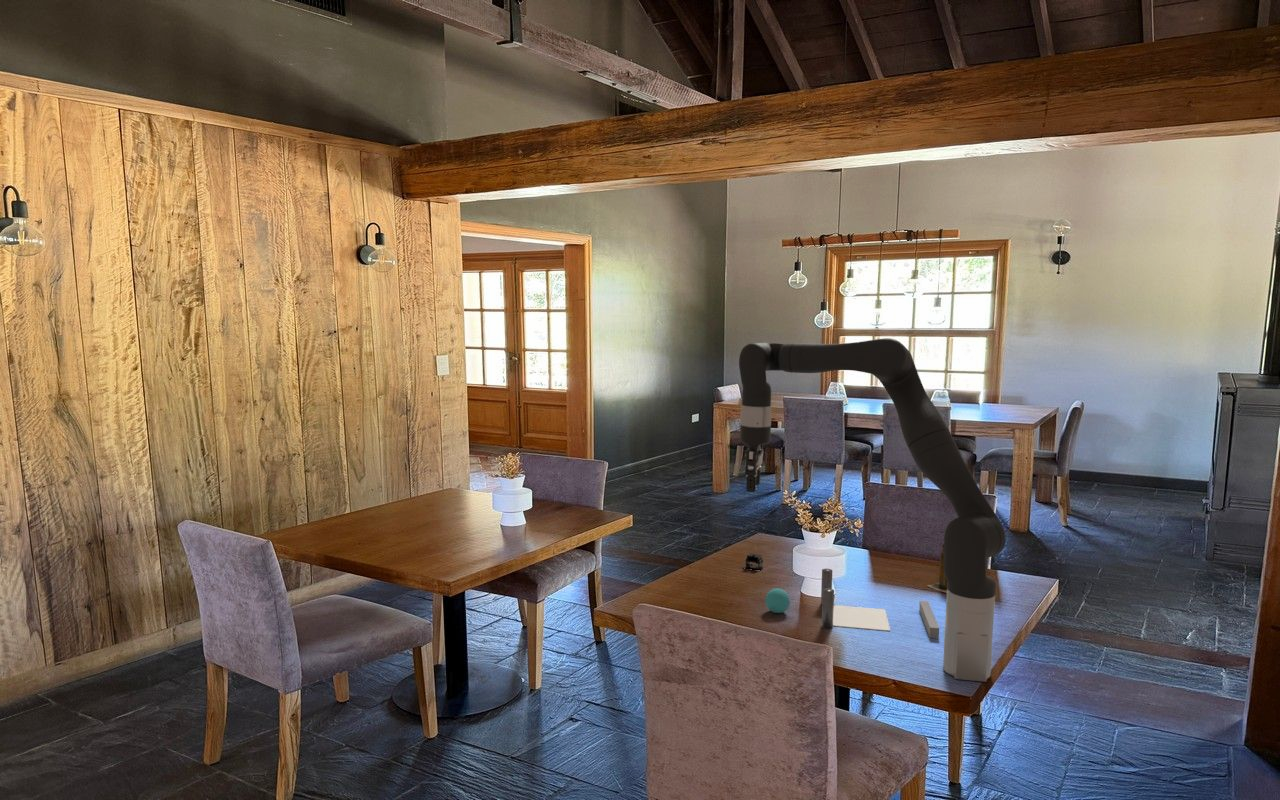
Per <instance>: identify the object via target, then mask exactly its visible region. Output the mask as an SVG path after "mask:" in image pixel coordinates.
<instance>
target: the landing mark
mask: <svg viewBox="0 0 1280 800" xmlns="http://www.w3.org/2000/svg"><path fill="white" fill-rule="evenodd" d="M833 627H841V628H848V629H849V628H851V629H861V630H872V631H874V630H875V631H885V632H891V627H890V624H889V620H888V615H887V612H886V609H884V608H872V607H860V606H859V607H858V606H848V605H836V604H834V610H833Z"/></svg>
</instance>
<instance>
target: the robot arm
mask: <svg viewBox="0 0 1280 800" xmlns="http://www.w3.org/2000/svg"><path fill="white" fill-rule="evenodd" d="M738 367H739V375H740V380H741V385H742V393H741V394H742V395H741V410H740V419H739V420H740V422H739V423H740V424H739V442H740V443H743V444H745V445H746V444H748V448H747V449H746V450H745V463H744V466H745V467H744V468H745V470H744V474H745V477H746V491H747V492H749V493H754V492H756V490H757V487H756V486H758V485H760V483H761V471H762V467H763V461H764V459H763V458H764V449H763V447H764V445H768V444H770V443H771V433H772V432H771V430H772V429H771V428H772V427H771V426H772V409H771V408H772V407H771V406H772V387H771V384H770V383H769V382H767V371H768V372H770V371H779V372H780V371H783V372H786V373H792V374H795V373H797V374H819V373H827V372H834V371H853V372H854V371H855V372H860V373H867V374H870V375H873V376H874V377H875V378H876V379H878V380H879V382H880V384H881V385H882V386H883V388H884V389H885V391H886V392H887V394H888V396H889V399H891V401H892V403H893V405H894V407H895V410H896V412H897V413H896V414H897V416H898V421H899V425H900V428H901V432H902V435H903V439H904V441H905V443H906V446H907V448H908V450H909V452H910V454H911V457H912V459H913V460H914V463H915V464H916V466H917V467H918V469H919V471H921V473H922V474H923V475H924V476H925V477H926V478H927V479H928V480H929V481H930V483H932V484H934V486H935V487H937V488H938V489H939V490H940V492H942V493H943V494H944V495H945V496H946V497H947V499H948V501H949V502H950V503H951V506H952V507H953V509H954V511H955V513H956V515H957V517H956V518H954V519H951V520H950V522H948V524H947V526H946V528H945V532H944V537H943V544H944V574H945V577H946V580H947V593H946V601H945V618H944V619H945V620H944V623H945V624H944V637H943V638H944V639H943V660H942V661H943V662H942V669H943V670H944V671H945V673H947V674H948V675H950V676H952V677H953V679H954V680H955V679H956V680H962V681H964V680H965V681H972V682H973V681H974V682H984V683H986V682H988V679H989V678H990V677H991V670H992V656H993V655H992V654H993V653H992V651H993V639H994V637H993V636H994V621H995V617H994V616H995V604H996V602H995V601H996V586H997V585H996V581H995V580H994V579H993V578H992V577H990V576H988V575H987V571H986V569H987V567H986V565H987V562H986V559H989V558H991V557H996V556H997V555H999V554H1001V553H1002V552H1003V551H1004V549H1005V546H1006V543H1007V541H1006V540H1007V536H1006V531H1005V529H1004V527H1003V524H1002V522H1001V521H1000V518H999V517H998V515H997V514H996V512H995V511H994V509H993V508H992V506H991V504H990V503H989V501H988V500H987V499H986V496H985V495H984V494H983V492H982V491H981V490H980V489H981V488H979V486H978V485H977V482H976V480H975V478H974V476H973V475H972V473H971V471H970V469H969V467H968V465H967V463H966V461H965V459H964V457H963V456H962V454H961V451H960V449H959V448H958V445H957V443H956V441H955V439H954V437H953V436H952V434H951V433H952V432H950V429H949V428H948V425H947V423H945V420H944V419H943V417H942V415H941V414H940V412H939V411H938V409H937V408H936V406H935V405H934V403H933V401H932V400H931V399H930V397H929V395H928V394H927V392H926V390H925V388H924V386H923V383H922V381H921V378H920V375H919V373H918V369H917V367H916V364H915V361H914V359H913V356H912V354H911V352H910V351H909V350H908V348H907V347H906V346H905V345H904V344H903V343H902V342H900V341H899V340H897V339H895V338H891V337H885V338H884V337H883V338H877V339H870V340H863V341H857V342H847V343H846V342H845V343H801V342H799V343H797V342H796V343H794V342H792V343H791V342H789V343H780V342H779V343H778V342H762V341H761V342H751V343H748V344H746V345H745V346H743V347H742V349H741V351H740V353H739V359H738Z"/></svg>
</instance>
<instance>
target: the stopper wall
mask: <svg viewBox="0 0 1280 800" xmlns="http://www.w3.org/2000/svg"><path fill="white" fill-rule="evenodd" d="M918 608H919V614H920V616H921V619H922V620H923V621H922V622H923V624H924V627H925V630H926V632H927V635H928V637H929V639H937V640H938V639H940V638H939V637H940V626H939V624H938V622H937V620H936V617H935V615H934V612H933V609H932V607H931V605H930V602H929V601H928V600H919V607H918Z"/></svg>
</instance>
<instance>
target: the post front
mask: <svg viewBox="0 0 1280 800" xmlns="http://www.w3.org/2000/svg"><path fill="white" fill-rule="evenodd" d="M834 601H835V590H834V588H832V589H829V588H825V589H823V603H822V605H821V607H822V608H821V610H822V611H821V627H822V628H823V629H825V630H829V629H830V630H831V629H833V627H834V626H833V610H834V605H835V604H834V603H835V602H834Z"/></svg>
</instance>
